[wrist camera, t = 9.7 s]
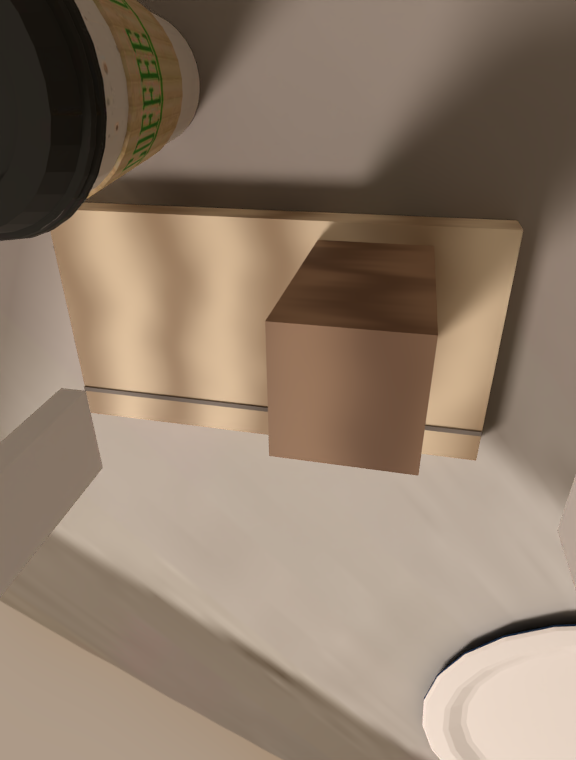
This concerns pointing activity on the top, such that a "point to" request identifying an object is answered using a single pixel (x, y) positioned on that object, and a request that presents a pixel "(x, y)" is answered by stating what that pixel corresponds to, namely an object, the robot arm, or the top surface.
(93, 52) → the coffee cup
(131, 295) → the board
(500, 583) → the top surface
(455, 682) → the plate
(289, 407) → the brown box
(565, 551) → the robot arm
